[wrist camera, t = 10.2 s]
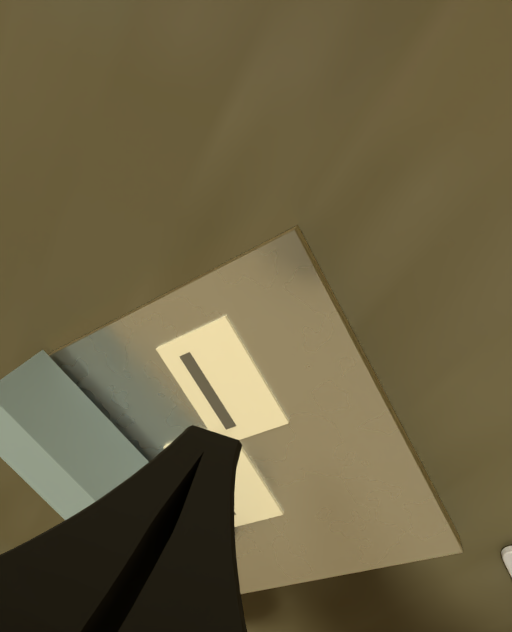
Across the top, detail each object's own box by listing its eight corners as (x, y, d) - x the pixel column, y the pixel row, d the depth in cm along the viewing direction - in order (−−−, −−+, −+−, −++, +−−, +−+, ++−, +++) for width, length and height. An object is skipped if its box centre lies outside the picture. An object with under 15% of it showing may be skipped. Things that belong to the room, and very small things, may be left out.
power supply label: (289, 420, 22) (288, 423, 22) (220, 444, 23) (219, 447, 23) (226, 315, 20) (225, 317, 20) (157, 347, 22) (155, 349, 22)
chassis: (459, 535, 23) (481, 634, 19) (220, 584, 29) (194, 668, 25) (297, 224, 19) (276, 256, 15) (52, 351, 25) (-18, 402, 20)
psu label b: (283, 511, 24) (282, 515, 24) (221, 527, 26) (220, 531, 25) (226, 423, 23) (225, 426, 22) (164, 445, 24) (162, 448, 24)
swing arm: (262, 566, 25) (242, 650, 21) (210, 586, 27) (182, 668, 23) (52, 341, 22) (-18, 390, 18) (8, 379, 24) (-65, 432, 20)
